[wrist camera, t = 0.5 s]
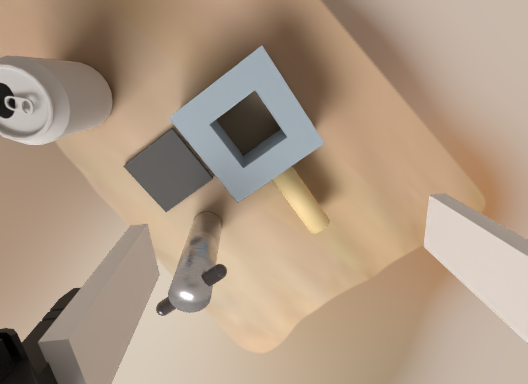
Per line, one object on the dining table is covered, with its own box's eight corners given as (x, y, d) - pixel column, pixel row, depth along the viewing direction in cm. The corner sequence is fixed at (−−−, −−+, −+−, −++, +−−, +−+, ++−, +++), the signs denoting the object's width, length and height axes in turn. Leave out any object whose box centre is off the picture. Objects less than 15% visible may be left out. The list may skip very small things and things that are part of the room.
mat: (125, 164, 39) (123, 166, 39) (172, 128, 38) (171, 129, 38) (167, 210, 42) (166, 212, 41) (213, 177, 41) (212, 178, 40)
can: (48, 55, 35) (-47, 43, 23) (117, 69, 35) (58, 65, 24) (50, 121, 37) (-35, 140, 26) (114, 133, 38) (60, 156, 27)
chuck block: (179, 111, 38) (168, 117, 32) (259, 50, 36) (262, 45, 30) (280, 238, 45) (285, 261, 39) (350, 192, 43) (367, 209, 37)
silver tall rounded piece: (175, 230, 43) (141, 304, 29) (222, 197, 42) (211, 258, 28) (193, 250, 44) (170, 330, 30) (239, 218, 43) (237, 286, 29)
